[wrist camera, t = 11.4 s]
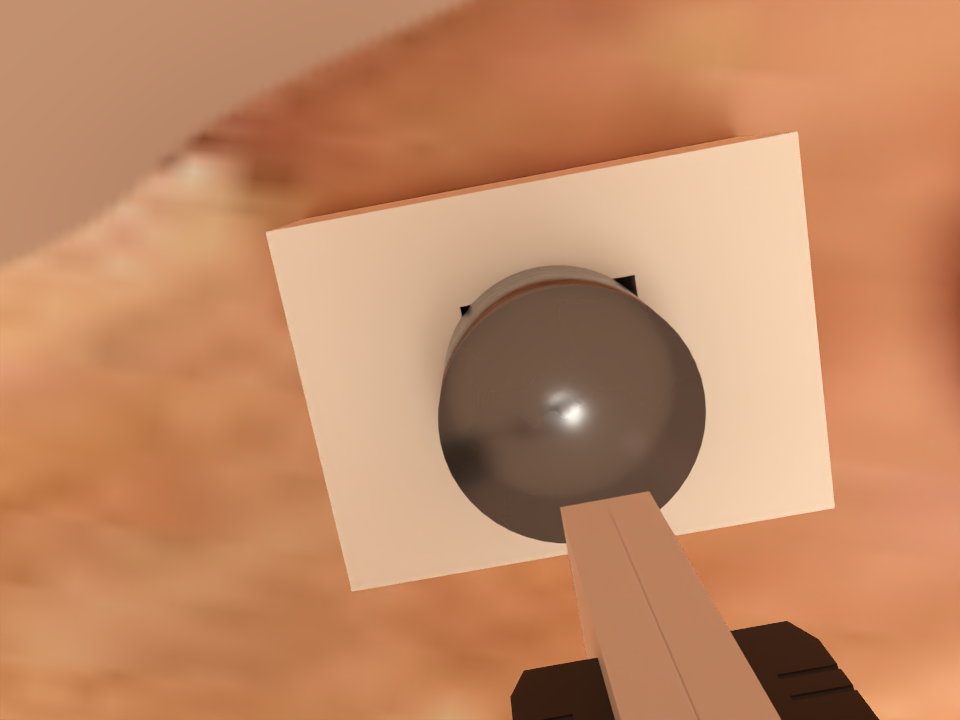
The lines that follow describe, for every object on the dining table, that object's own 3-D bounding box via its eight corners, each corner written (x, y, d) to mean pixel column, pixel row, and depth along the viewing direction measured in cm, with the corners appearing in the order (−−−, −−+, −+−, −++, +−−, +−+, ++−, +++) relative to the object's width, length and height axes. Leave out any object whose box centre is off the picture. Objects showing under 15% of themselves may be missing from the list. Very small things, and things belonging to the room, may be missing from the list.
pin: (467, 445, 33) (465, 564, 23) (432, 266, 32) (413, 313, 22) (648, 412, 33) (721, 519, 23) (621, 231, 31) (687, 263, 22)
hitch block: (372, 518, 34) (351, 591, 28) (303, 218, 32) (265, 232, 26) (772, 447, 34) (834, 507, 28) (736, 136, 31) (797, 131, 25)
